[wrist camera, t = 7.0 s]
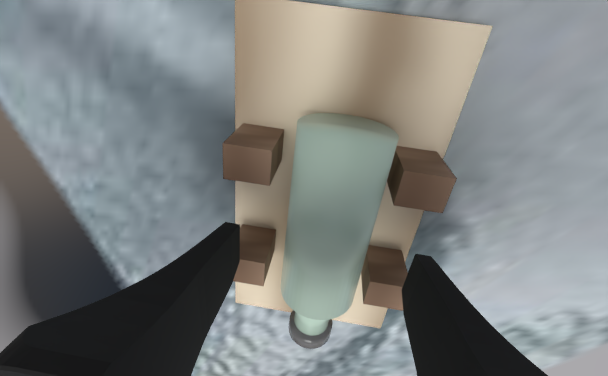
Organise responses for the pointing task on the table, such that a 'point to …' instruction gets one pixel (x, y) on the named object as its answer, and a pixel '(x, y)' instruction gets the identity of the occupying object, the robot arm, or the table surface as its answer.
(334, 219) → the bottle
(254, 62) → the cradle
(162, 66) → the table surface
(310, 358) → the table surface
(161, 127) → the table surface
